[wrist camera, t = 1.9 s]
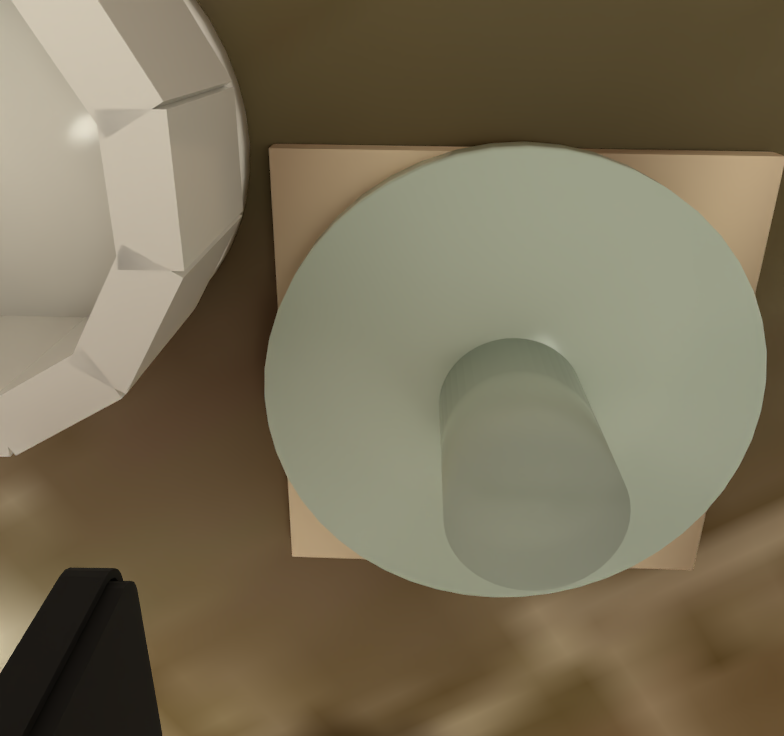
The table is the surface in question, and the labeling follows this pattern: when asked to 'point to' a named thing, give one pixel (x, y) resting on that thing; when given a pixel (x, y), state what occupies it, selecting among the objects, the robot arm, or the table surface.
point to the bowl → (107, 196)
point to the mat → (378, 162)
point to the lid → (514, 370)
